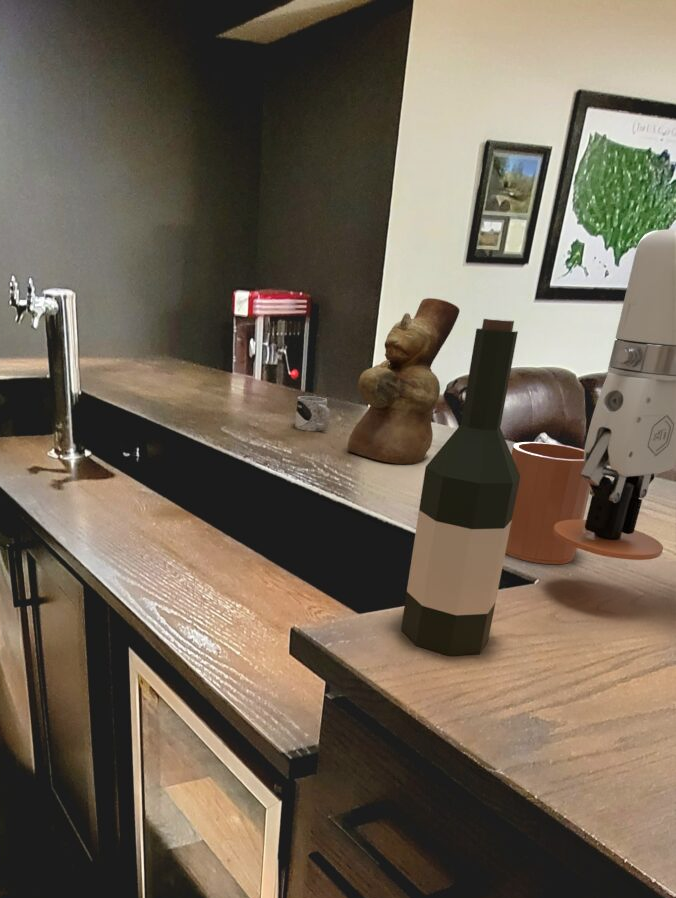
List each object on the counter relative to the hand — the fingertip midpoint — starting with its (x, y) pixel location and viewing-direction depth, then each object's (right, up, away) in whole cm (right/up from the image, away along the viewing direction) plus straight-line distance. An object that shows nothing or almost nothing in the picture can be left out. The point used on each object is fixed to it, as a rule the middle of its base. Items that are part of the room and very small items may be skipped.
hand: (608, 530), depth 79 cm
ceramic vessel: (-7, +14, +66) cm, 68 cm away
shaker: (-1, -3, +17) cm, 17 cm away
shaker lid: (0, -1, 0) cm, 1 cm away
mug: (-22, +21, +84) cm, 89 cm away
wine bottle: (-20, -10, -8) cm, 24 cm away
